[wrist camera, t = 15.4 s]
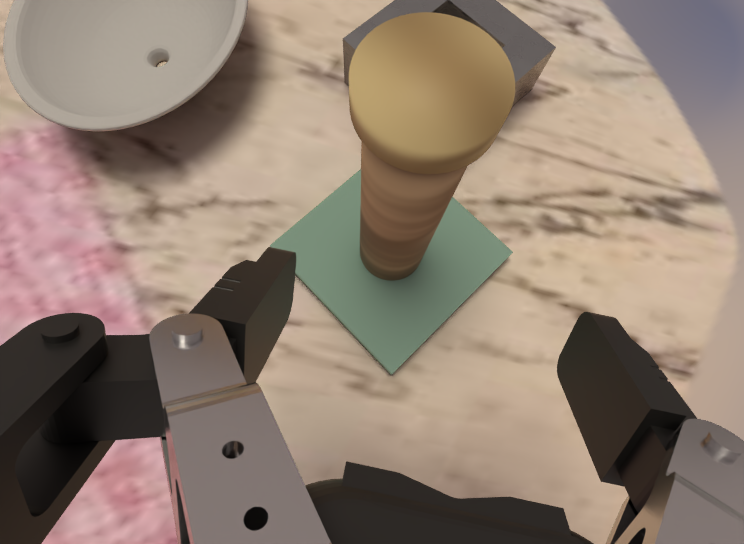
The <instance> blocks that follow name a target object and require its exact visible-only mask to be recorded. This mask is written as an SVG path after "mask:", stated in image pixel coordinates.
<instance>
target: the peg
mask: <svg viewBox="0 0 744 544" xmlns="http://www.w3.org/2000/svg"><path fill="white" fill-rule="evenodd" d="M514 96H515V78H514V72H513V69H512V66H511V63H510V61H509V59H508V57H507V55H506V54H505V52H504V51H503V49H502V48H501V46H500V45H499V44H498V43H497V42H496V41H495V40H494V39H493V38H492V37H491V36H490V35H489V34H488V33H486V32H485V31H484V30H482V29H481V28H479V27H478V26H476V25H474V24H472V23H470V22H468V21H466V20H463V19H461V18H458V17H455V16H451V15H447V14H442V13H432V12H420V13H411V14H406V15H402V16H398V17H396V18H393V19H390V20H388V21H386V22H384V23H382V24H381V25H379V26H377V27H376V28H374V29H373V30H372V31H371V32H370V33H369V34H367V35H366V37H365V38H364V39H363V40H362V41H361V42H360V44H359V45H358V47H357V49H356V50H355V53H354V55H353V57H352V60H351V64H350V69H349V102H350V115H351V120H352V123H353V126H354V129H355V131H356V132H357V134H358V136H359V138H360V139H361V141H362V149H361V206H360V257H361V260H362V262H363V264H364V266H365V267H366V269H367V270H368V271H369V272H370V273H371V274H373V275H374V276H376V277H378V278H380V279H383V280H390V281H394V280H400V279H403V278H406V277H408V276H409V275H411V274H412V273H413V272H414V271H415V270H416V269H417V267H418V266H419V264H420V262H421V260H422V258H423V256H424V254H425V252H426V250H427V247H428V245H429V243H430V241H431V239H432V237H433V235H434V233H435V231H436V229H437V227H438V225H439V223H440V221H441V219H442V217H443V215H444V213H445V211H446V209H447V207H448V205H449V202H450V200H451V198H452V196H453V194H454V192H455V190H456V188H457V186H458V184H459V182H460V180H461V178H462V176H463V174H464V172H465V170H466V168H467V166H468V165H469V164H471V163H473V162H474V161H476V160H477V159H478V158H480V157H481V156H482V155H483V154H484V153H485V152H486V151H487V150H488V149H489V147H490V146H491V145H492V143H493V142H494V140H495V138H496V136H497V134H498V133H499V131H500V129H501V127H502V125H503V123H504V122H505V120H506V118H507V116H508V114H509V112H510V110H511V108H512V105H513V101H514Z"/></svg>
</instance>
